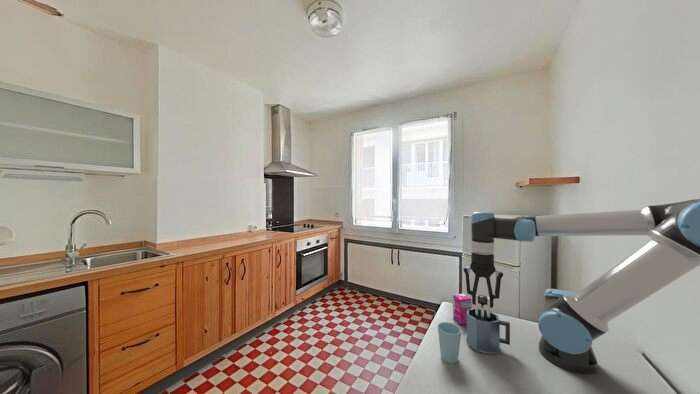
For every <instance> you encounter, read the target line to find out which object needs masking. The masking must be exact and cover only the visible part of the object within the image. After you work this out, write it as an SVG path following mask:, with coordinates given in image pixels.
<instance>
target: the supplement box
mask: <svg viewBox="0 0 700 394" xmlns="http://www.w3.org/2000/svg"><path fill="white" fill-rule="evenodd" d="M468 309H472V297H470V296H468V295H466V294H465V293H457V294H455V293H454V294H452V319H453V320H454V321H455V322H456V323H458V324H459V325H460V326H463V325H464V326H467V325H466V324H467V310H468Z"/></svg>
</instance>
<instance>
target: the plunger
mask: <svg viewBox="0 0 700 394" xmlns="http://www.w3.org/2000/svg"><path fill="white" fill-rule="evenodd" d="M487 297H488V296H486V295H483V294H478V305H480V309H481V320H482V321H484V310H485V306H487Z"/></svg>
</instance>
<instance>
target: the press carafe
mask: <svg viewBox="0 0 700 394" xmlns="http://www.w3.org/2000/svg"><path fill="white" fill-rule="evenodd" d="M500 326H504V328H505V334H504V335H505V337H504V338H502V337H501V336H500V335H501V327H500ZM466 344H467V346H468V347H469V348H470V349H472V350H473V351H475V352H477V353H480V354H482V355H487V356H495V355H498V354H500V351H501V347H500V346H501V344H504V345H508V346H511V323H510V322H509V321H505V320H500V318H499V315H498V314H496V313H493V312H492V311H490V317H488V316H487V309H484V321H482V320H481V308H478V315H476V313H475V308H471V309H468V310H467V325H466Z"/></svg>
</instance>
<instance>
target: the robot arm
mask: <svg viewBox="0 0 700 394" xmlns="http://www.w3.org/2000/svg"><path fill="white" fill-rule="evenodd" d="M470 225H471V226H470V227H471V228H470V229H471V246H470V247H471V249H470V250H471V256H470V257H471V263H470V264H469V266H463V269H462V270H463V272H464V275H465V282H466V293H467V294H468V295H470V296H471V305H473V306H475V313H476V315H478V309H479V303H478V295H479V294H478V295H477V292H478V286H479V281H480V278H484V279H485V281H486V285H487V286H486V287H487V292H488V296H486V297H487V305H486V310H487V316H488V317H490V312H491V309H492V308H494V300H496V299H497V300H499V299H500V294H501V293H500V292H501V282H502V278H503V276H504V273H503V271H501V270H498V269H497V268H496V266H495V254H494V253H495V239H500V240H509V241H516V242H521V243H522V242H525V243H526V242H530V243H531V242H534V241H535V239H536V237H562V236H563V237H582V236H583V237H584V236H587V237H588V236H590V237H591V236H592V237H593V236H598V237H599V236H603V237H604V236H647V237H650V238H651V239H650V240H648V241H647V242H646V243H645V244H643V245H642V246H640V247H639V248H637V249H636V250H635V251H634V252H632V253H630V254H629V255H628V256H627V257H625V258H624V259H622V260H621V261H620V262H619V263H617V264H616V265H614V266H613V267H612V268H610V269H608V270H607V271H606V272H604V273H603V274H602V275H599V277H598V278H596V279H595V280H593V281H592V282H591V283H589V284H588V285H587V286H585V287H584V288H582V289H581V290H579V292H572V291H568V290H563V289H558V288H556V289H555V288H546V289H545V290H544V294H543V295H544V305H543V307H542V310H541V313H540V314H539V316H538V319H537V322H538V323H537V325H538V329H539V332H540V333H541V337H540V340H538V351H539V353H540V355H541V356H542V357H544V358H545V359H546V360H547V361H548V362H551V363H552V364H554V365H556V366H557V367H560V368H563V369H565V370H568V371H571V372H575V373H579V374H584V375H585V374H586V375H592V374H596V373H597V372H598V371H599V362H598V359H597V357H596V354H595V351H594V349H593V347H592V345H593V341H595V340H596V339H598V338H600V337H601V336H603V335H604V334H606V333H607V332H609V325H608V324H609V322H610V321H613V320H614V319H615V318H617V317H618V316H620V315H621V314H623V313H625V312H626V311H628V310H630V309H632V308H633V307H634V306H636V305H638V304H639V303H641V302H642V301H644V300H646V299H648V298H649V297H650V296H652V295H654V294H655V293H657V292H659V291H660V290H662V289H663V288H665V287H667V286H669V285H670V284H672V283H673V282H675V281H676V280H678V279H680V278H681V277H683V276H684V275H686V274H688V273H689V272H691V271H692V270H694V269H696V268H698V267H700V198H696V199H689V200H683V201H678V202H677V201H676V202H672V203H664V204H657V205H645V206H644V207H642V208H641V209H633V210H617V211H616V210H614V211H599V212H598V211H597V212H584V213H568V214H567V213H566V214H564V213H563V214H551V215H548V214H547V215H536V216H535V215H532V216H516V217H514V218H504V217H503V218H501V217H500V218H499V217H495V213H494V212H493V211H490V212H489V211H474V212H473V213H472V214H471V223H470ZM471 271H472V272H473V274H474V281H473V286H472V289H471V282H470V274H469V273H470V272H471ZM494 273H495V276H496V277H495V286H494V287H495V288H494V293H493V289H492V288H493V287H492V281H491V276H492V275H493V274H494Z"/></svg>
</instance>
